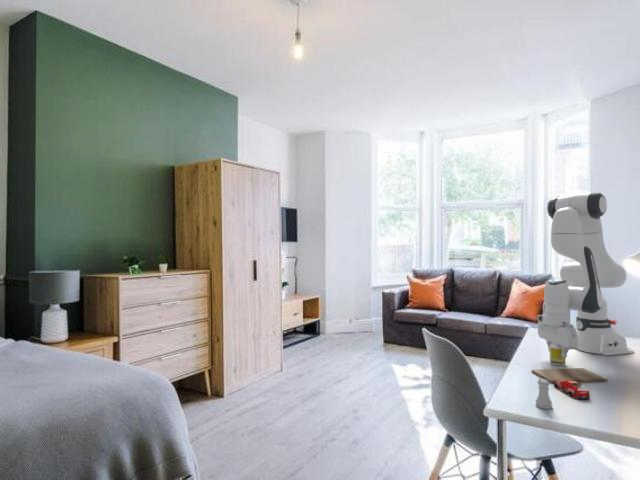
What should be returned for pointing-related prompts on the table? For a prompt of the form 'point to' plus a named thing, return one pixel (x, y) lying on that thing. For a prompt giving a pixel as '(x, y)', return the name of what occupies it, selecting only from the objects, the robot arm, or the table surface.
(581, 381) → the walnut board
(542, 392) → the rook chess piece
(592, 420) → the table surface
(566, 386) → the race car
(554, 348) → the supplement bottle
